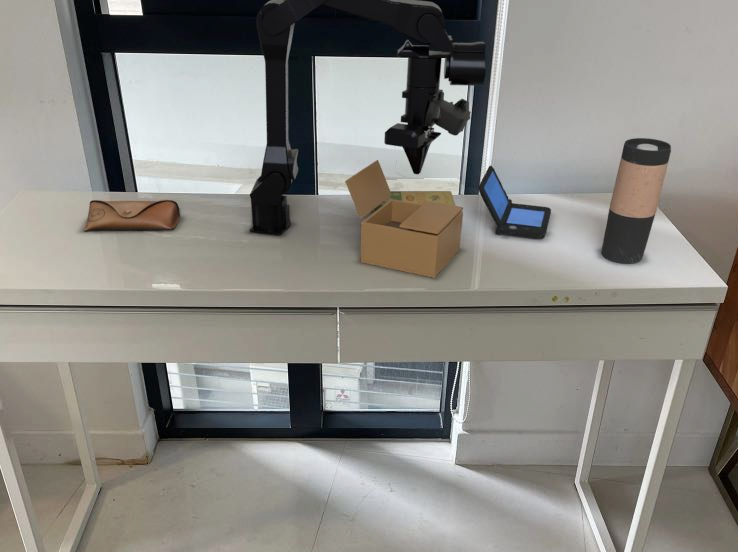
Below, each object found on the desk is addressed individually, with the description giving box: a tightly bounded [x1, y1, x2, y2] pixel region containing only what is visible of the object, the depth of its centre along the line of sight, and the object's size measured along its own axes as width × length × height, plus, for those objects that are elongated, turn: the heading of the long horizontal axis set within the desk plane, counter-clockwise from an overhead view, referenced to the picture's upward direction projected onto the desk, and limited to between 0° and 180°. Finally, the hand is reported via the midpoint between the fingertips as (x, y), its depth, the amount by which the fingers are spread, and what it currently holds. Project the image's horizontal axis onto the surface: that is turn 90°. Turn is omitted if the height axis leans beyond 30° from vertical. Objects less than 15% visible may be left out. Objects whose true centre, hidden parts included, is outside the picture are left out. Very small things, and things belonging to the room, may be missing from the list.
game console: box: [478, 165, 552, 240], centre depth 141 cm, size 16×14×9 cm
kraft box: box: [360, 199, 464, 279], centre depth 128 cm, size 14×13×8 cm
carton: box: [372, 190, 456, 214], centre depth 145 cm, size 8×16×4 cm, turn 88°
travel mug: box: [601, 137, 672, 265], centre depth 125 cm, size 8×8×20 cm
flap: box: [344, 159, 392, 220], centre depth 127 cm, size 7×13×1 cm
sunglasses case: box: [83, 199, 181, 232], centre depth 142 cm, size 18×7×7 cm, turn 93°
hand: (417, 173), depth 134 cm, fingers closed
